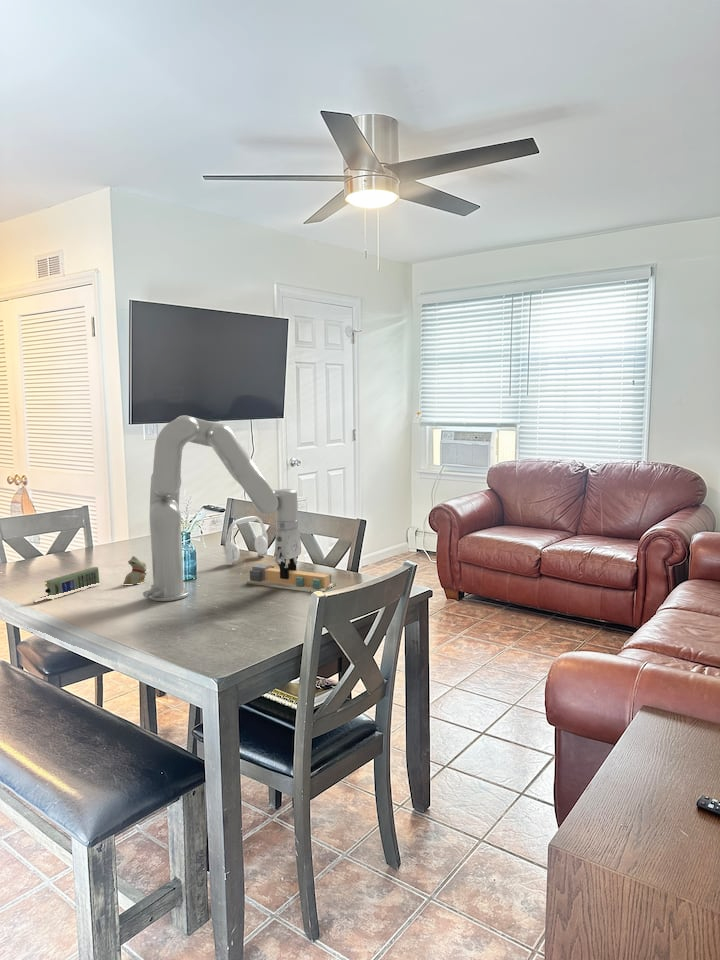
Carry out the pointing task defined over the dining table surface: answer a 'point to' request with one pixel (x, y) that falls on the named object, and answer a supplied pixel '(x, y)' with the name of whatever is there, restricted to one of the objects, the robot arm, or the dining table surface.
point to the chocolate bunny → (136, 572)
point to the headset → (260, 541)
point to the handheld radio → (72, 581)
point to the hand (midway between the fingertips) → (288, 576)
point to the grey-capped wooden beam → (291, 575)
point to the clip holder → (256, 579)
